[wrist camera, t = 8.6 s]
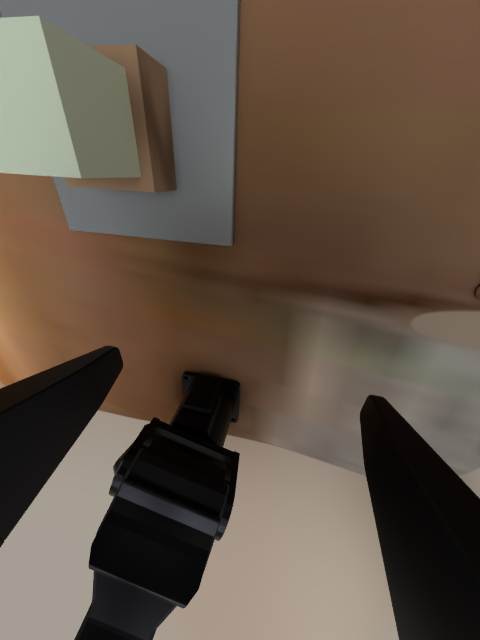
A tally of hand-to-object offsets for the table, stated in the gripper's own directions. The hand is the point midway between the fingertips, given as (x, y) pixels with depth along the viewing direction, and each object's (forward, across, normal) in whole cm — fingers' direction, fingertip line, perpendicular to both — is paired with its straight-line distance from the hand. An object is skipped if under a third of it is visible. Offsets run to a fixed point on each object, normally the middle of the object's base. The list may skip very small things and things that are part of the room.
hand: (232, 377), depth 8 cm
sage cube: (+8, +10, -8) cm, 15 cm away
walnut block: (+12, +10, -8) cm, 17 cm away
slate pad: (+12, +10, -8) cm, 18 cm away
